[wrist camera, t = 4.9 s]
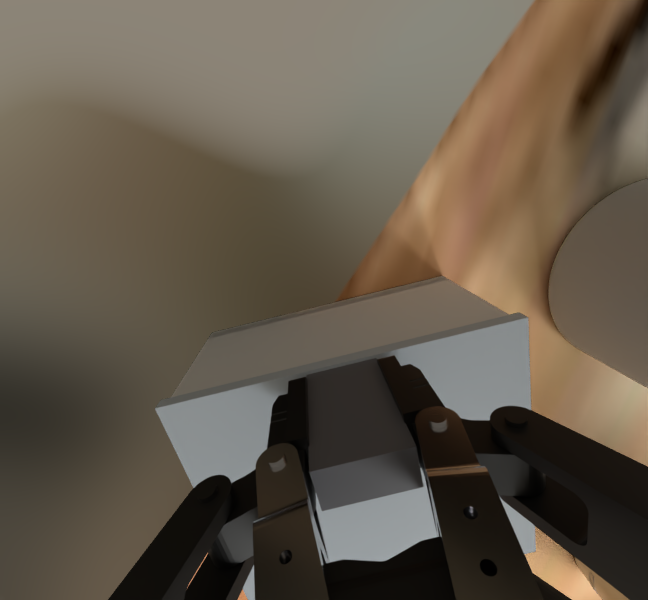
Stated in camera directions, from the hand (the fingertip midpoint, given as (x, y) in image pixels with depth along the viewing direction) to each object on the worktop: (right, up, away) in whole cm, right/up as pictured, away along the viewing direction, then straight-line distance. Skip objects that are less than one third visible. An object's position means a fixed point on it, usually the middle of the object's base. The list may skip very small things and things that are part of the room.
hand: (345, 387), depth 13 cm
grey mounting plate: (+1, -6, +3) cm, 6 cm away
